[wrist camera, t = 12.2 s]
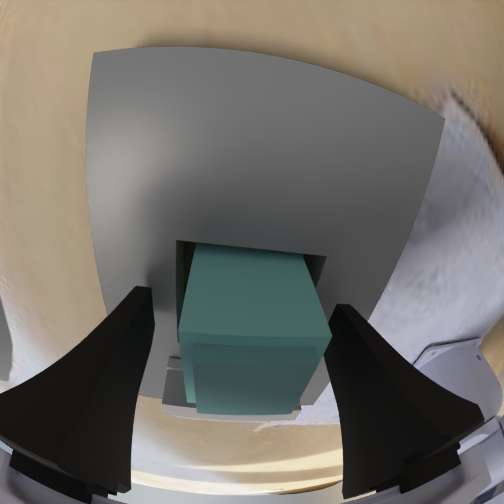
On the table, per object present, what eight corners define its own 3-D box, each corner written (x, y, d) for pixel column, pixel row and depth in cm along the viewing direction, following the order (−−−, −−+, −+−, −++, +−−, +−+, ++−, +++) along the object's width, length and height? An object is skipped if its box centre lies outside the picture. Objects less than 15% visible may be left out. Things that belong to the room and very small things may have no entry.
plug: (292, 231, 12) (337, 352, 6) (277, 300, 14) (299, 417, 8) (201, 224, 11) (174, 349, 6) (199, 296, 14) (186, 416, 8)
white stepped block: (294, 365, 13) (302, 408, 11) (269, 415, 16) (272, 447, 14) (168, 357, 12) (161, 402, 10) (176, 409, 16) (172, 442, 13)
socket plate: (410, 111, 9) (445, 118, 7) (307, 377, 18) (313, 404, 16) (121, 60, 7) (93, 52, 5) (139, 365, 17) (133, 393, 15)
